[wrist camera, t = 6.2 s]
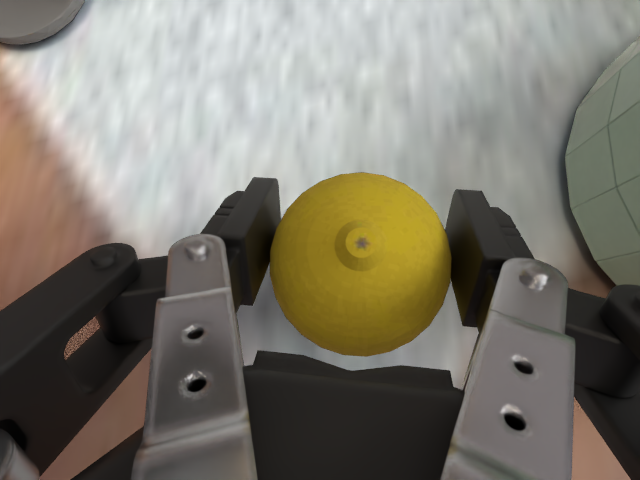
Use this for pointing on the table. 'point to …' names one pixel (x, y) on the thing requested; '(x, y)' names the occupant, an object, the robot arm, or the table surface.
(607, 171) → the bowl
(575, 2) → the table surface
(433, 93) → the table surface
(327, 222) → the lemon
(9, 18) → the pocket watch
